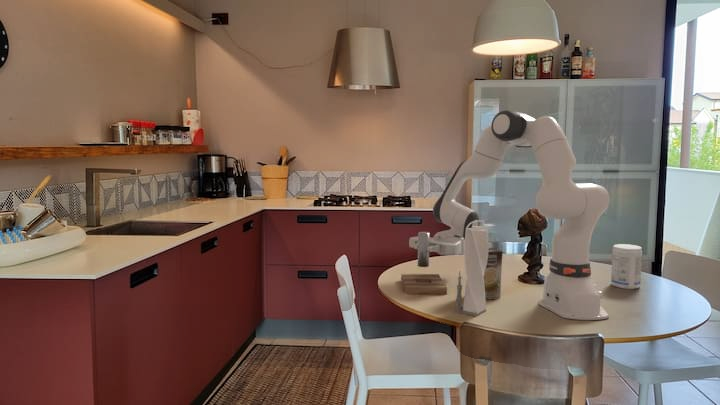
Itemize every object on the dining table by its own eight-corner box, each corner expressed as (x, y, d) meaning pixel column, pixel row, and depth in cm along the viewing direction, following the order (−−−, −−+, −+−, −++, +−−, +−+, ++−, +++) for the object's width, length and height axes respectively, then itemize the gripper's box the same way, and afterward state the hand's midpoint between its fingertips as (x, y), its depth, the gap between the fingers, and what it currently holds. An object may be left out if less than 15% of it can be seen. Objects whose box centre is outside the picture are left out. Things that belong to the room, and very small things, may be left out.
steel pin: (429, 267, 185) (430, 233, 184) (418, 267, 185) (418, 233, 184) (428, 264, 189) (428, 231, 188) (416, 264, 189) (417, 231, 188)
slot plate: (446, 294, 179) (447, 287, 179) (406, 294, 179) (406, 287, 178) (438, 280, 197) (438, 274, 196) (401, 280, 197) (401, 274, 196)
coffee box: (477, 300, 172) (478, 252, 170) (467, 295, 178) (468, 249, 176) (501, 298, 174) (502, 251, 173) (490, 293, 180) (492, 247, 179)
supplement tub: (631, 282, 195) (633, 243, 194) (645, 289, 186) (648, 248, 184) (605, 282, 195) (607, 243, 193) (618, 289, 186) (621, 248, 184)
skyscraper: (467, 305, 167) (470, 218, 164) (491, 310, 162) (494, 221, 158) (454, 311, 160) (457, 221, 157) (478, 317, 155) (481, 224, 152)
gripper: (422, 231, 202) (399, 235, 192) (467, 238, 188) (446, 243, 178) (421, 247, 203) (399, 252, 193) (467, 255, 189) (445, 261, 179)
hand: (422, 248), depth 186 cm, fingers closed on steel pin, 4 cm apart
